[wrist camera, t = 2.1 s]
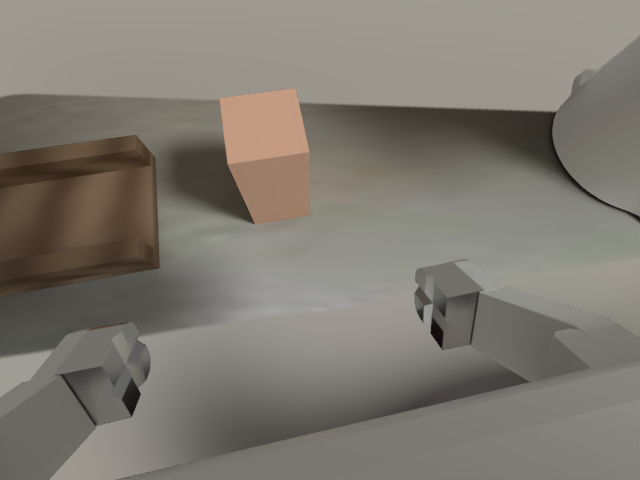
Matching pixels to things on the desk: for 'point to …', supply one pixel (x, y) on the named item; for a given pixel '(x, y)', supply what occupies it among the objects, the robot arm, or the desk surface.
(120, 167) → the cradle
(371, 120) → the desk surface
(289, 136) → the block
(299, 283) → the desk surface
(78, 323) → the desk surface
